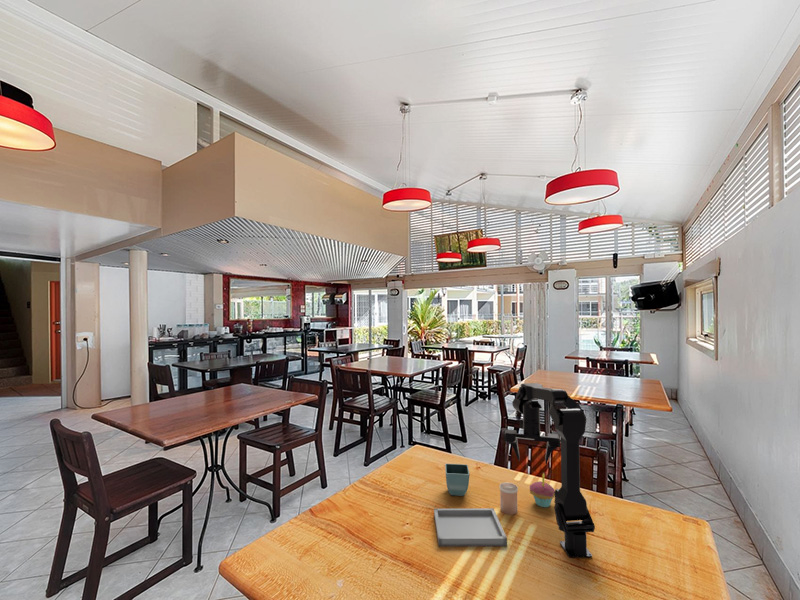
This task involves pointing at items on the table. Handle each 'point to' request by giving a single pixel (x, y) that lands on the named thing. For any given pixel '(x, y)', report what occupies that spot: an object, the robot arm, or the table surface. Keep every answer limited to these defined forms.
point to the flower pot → (457, 478)
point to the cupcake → (542, 493)
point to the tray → (469, 527)
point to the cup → (508, 498)
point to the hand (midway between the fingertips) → (532, 461)
